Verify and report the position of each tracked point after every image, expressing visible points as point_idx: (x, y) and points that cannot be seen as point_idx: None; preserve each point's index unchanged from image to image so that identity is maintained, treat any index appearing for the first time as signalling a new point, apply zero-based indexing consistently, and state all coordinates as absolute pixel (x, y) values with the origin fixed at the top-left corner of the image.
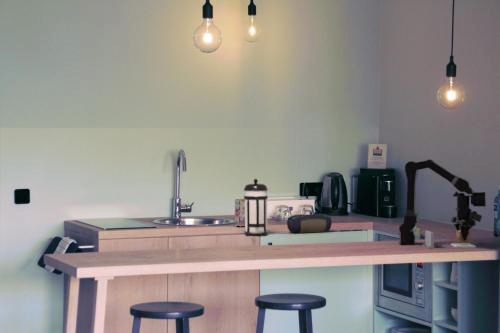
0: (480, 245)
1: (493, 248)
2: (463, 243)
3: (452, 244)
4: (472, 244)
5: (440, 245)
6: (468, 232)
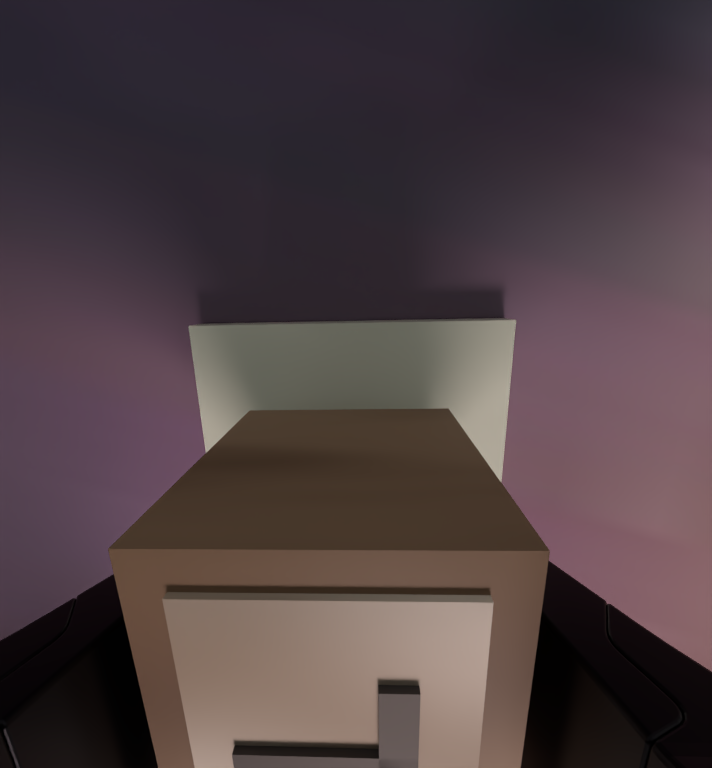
0: (240, 151)
1: (699, 20)
2: (208, 430)
3: None
4: (345, 326)
5: None
6: (523, 577)
